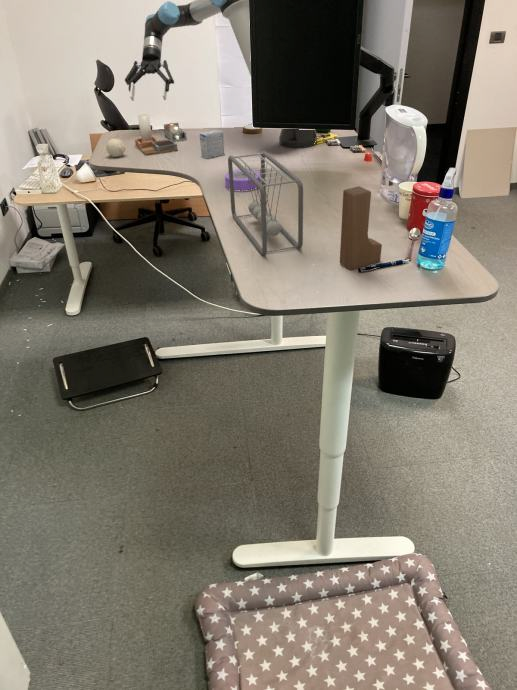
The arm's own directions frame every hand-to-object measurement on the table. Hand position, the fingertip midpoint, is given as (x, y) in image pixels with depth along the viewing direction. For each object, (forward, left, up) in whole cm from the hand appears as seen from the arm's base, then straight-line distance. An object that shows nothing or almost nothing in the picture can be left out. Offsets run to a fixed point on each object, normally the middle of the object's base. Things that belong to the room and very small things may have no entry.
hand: (147, 98), depth 222 cm
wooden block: (-140, -14, -17) cm, 141 cm away
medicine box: (-36, -14, -17) cm, 42 cm away
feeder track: (-2, -9, -16) cm, 19 cm away
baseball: (-17, +19, -17) cm, 30 cm away
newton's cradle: (-112, -1, -17) cm, 114 cm away
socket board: (-13, +2, -16) cm, 21 cm away
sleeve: (-8, +5, -16) cm, 18 cm away
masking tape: (-74, -11, -17) cm, 76 cm away
